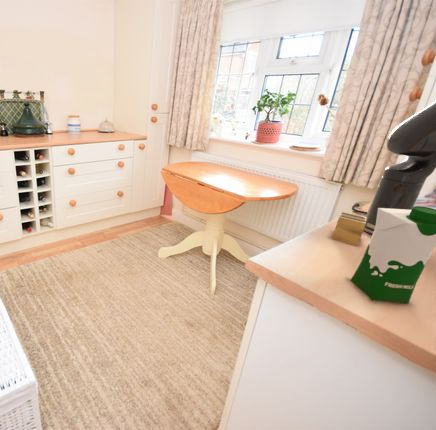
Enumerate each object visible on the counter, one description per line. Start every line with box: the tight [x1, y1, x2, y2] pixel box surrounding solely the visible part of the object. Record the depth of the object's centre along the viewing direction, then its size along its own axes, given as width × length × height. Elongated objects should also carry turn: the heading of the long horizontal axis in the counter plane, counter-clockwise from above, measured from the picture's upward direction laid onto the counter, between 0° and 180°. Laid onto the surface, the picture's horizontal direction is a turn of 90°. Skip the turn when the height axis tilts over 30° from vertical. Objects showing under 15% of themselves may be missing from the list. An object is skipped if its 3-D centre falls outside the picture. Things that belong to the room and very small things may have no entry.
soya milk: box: [350, 205, 436, 304], centre depth 59 cm, size 9×9×20 cm
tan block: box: [331, 211, 368, 247], centre depth 85 cm, size 6×6×7 cm
